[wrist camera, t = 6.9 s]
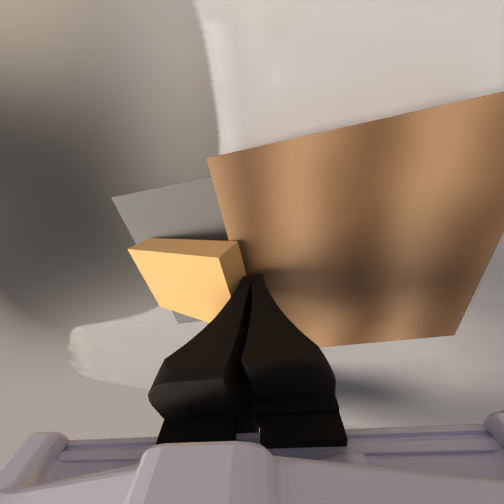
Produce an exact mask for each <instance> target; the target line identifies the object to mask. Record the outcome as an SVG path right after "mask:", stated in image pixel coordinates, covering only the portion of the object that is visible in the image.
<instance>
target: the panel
mask: <svg viewBox="0 0 504 504" xmlns="http://www.w3.org/2000/svg"><path fill="white" fill-rule="evenodd" d="M207 162H208V166H209V170H210V173H211V177H212V181H213V184H214V188H215V192H216V195H217V199H218V203H219V206H220V210H221V214H222V217H223V221H224V225H225V228H226V232H227V236H228V239H229V241H238V244H239V248H240V252H241V256H242V260H243V264H244V268H245V272H246V276H249V275H256V274H263V275H264V280H265V284H266V286H267V288H268V290H269V292H270V294H271V296H272V297H273V299H274V301H275V302H276V304H277V305H278V306H279V308H280V309H281V310H282V312H283V313H284V314H285V315H286V316H287V318H288V319H289V320H290V321H291V322H292V323H293V324H294V325H295V326H296V327H297V328H298V329H299V330H300V331H301V332H302V333H303V334H304V335H306V336H307V337H308V338H309V339H310V340H312V341H313V342H314V343H315V344H317V345H318V347H329V346H340V345H351V344H362V343H373V342H384V341H395V340H406V339H417V338H428V337H439V336H450V335H455V333H456V331H457V329H458V327H459V324H460V322H461V320H462V318H463V316H464V314H465V312H466V310H467V308H468V305H469V303H470V301H471V299H472V297H473V295H474V293H475V291H476V288H477V286H478V284H479V282H480V280H481V278H482V276H483V274H484V272H485V269H486V267H487V265H488V263H489V261H490V259H491V257H492V255H493V253H494V250H495V248H496V246H497V244H498V242H499V240H500V238H501V236H502V234H503V231H504V92H500V93H496V94H491V95H487V96H482V97H478V98H474V99H469V100H465V101H460V102H456V103H451V104H447V105H442V106H438V107H433V108H429V109H424V110H420V111H416V112H411V113H407V114H402V115H398V116H393V117H389V118H384V119H380V120H375V121H371V122H366V123H362V124H357V125H353V126H349V127H344V128H340V129H335V130H331V131H326V132H322V133H317V134H313V135H308V136H304V137H299V138H295V139H291V140H286V141H282V142H277V143H273V144H268V145H264V146H259V147H255V148H250V149H246V150H241V151H237V152H232V153H228V154H224V155H219V156H215V157H210V158H207Z"/></svg>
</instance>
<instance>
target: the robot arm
mask: <svg viewBox="0 0 504 504" xmlns="http://www.w3.org/2000/svg"><path fill="white" fill-rule="evenodd" d="M335 386H336V381H335V376H334V373H333V371H332V369H331V367H330V365H329V363H328V361H327V359H326V358H325V356H324V354H323V353H322V351H321V350H320V348H319V347H318V345H317V344H315V343H314V342H313V341H312V340H310V339H309V338H308V337H307V336H306V335H304V334H303V333H302V332H301V331H300V330H299V329H298V328H297V327H296V326H295V325H294V324H293V323H292V322H291V321H290V320H289V319H288V318H287V316H286V315H285V314H284V313H283V312H282V310H281V309H280V308H279V306H278V305H277V304H276V302H275V301H274V299H273V297H272V296H271V294H270V292H269V290H268V288H267V286H266V284H265V280H264V275H263V274H256V275H249V276H243V278H242V279H241V281H240V283H239V285H238V286H237V288H236V290H235V291H234V293H233V294H232V296H231V297H230V299H229V300H228V302H227V303H226V304H225V306H224V307H223V308H222V310H221V311H220V312H219V313H218V315H217V316H216V317H215V318H214V319H213V320H212V321H211V322H210V323H209V324H208V325H207V326H206V327H205V328H204V329H203V330H202V331H201V332H200V333H198V334H197V335H196V336H195V337H194V338H193V339H191V340H190V341H189V342H188V343H186V344H185V345H184V346H183V347H181V348H180V349H178V350H177V351H176V352H174V353H173V354H171V355H170V356H169V357H167V358H166V359H165V360H164V362H163V364H162V366H161V367H160V369H159V372H158V374H157V376H156V378H155V380H154V383H153V385H152V387H151V389H150V391H149V394H148V397H149V401H150V403H151V404H152V406H153V407H154V408H155V409H156V410H157V412H158V413H159V414H160V415H161V416H162V417H163V418H164V422H163V425H162V428H161V431H160V433H159V436H158V437H137V438H136V437H134V438H108V439H83V440H69V438H68V437H67V436H65V435H64V434H62V433H58V432H34V433H32V434H30V435H29V436H28V438H27V439H26V440H25V441H24V443H23V444H22V445H21V446H20V447H19V449H18V450H17V451H16V452H15V453H14V455H13V456H12V457H11V458H10V460H9V461H8V462H7V463H6V464H5V465H4V467H3V468H2V469H1V470H0V504H504V411H501V412H496V413H493V414H490V415H489V416H488V417H487V418H486V419H485V421H484V424H469V425H444V426H418V427H392V428H366V429H344V426H343V423H342V420H341V416H340V413H339V406H338V403H337V400H336V397H335Z"/></svg>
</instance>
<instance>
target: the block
mask: <svg viewBox="0 0 504 504" xmlns="http://www.w3.org/2000/svg"><path fill="white" fill-rule="evenodd" d="M128 251H129V252H130V254H131V256H132V258H133V260H134V261H135V263H136V265H137V267H138V268H139V270H140V272H141V274H142V276H143V277H144V279H145V281H146V283H147V284H148V286H149V288H150V290H151V291H152V293H153V295H154V297H155V298H156V300H157V302H158V304H159V305H160V307H163V308H166V309H169V310H172V311H175V312H178V313H181V314H184V315H187V316H190V317H193V318H196V319H199V320H202V321H205V322H208V323H210V322H211V321H212V320H213V319H214V318H215V317H216V316H217V315H218V313H219V312H220V311H221V310H222V308H223V307H224V306H225V304H226V303H227V302H228V300H229V299H230V297H231V296H232V294H233V293H234V291H235V290H236V288H237V286H238V285H239V283H240V281H241V279H242V278H243V276H246V272H245V268H244V264H243V260H242V256H241V252H240V248H239V244H238V241H217V240H190V239H163V238H149V239H147V240H145V241H143V242H141V243H139V244H137V245H135V246H133V247H131V248H128Z"/></svg>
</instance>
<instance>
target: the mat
mask: <svg viewBox="0 0 504 504" xmlns="http://www.w3.org/2000/svg"><path fill="white" fill-rule="evenodd" d="M112 200H113V202H114V204H115V205H116V207H117V209H118V211H119V213H120V215H121V217H122V219H123V220H124V222H125V224H126V226H127V228H128V230H129V232H130V233H131V235H132V237H133V239H134V241H135V243H136V245H137V244H139V243H141V242H143V241H145V240H147V239H149V238H163V239H190V240H217V241H229V239H228V236H227V232H226V228H225V225H224V221H223V217H222V214H221V210H220V206H219V203H218V199H217V195H216V192H215V188H214V184H213V181H212V177H206V178H202V179H196V180H192V181H187V182H183V183H178V184H173V185H169V186H164V187H159V188H154V189H149V190H144V191H140V192H135V193H130V194H125V195H121V196H116V197H112ZM172 312H173V314H174V316H175V318H176V320H177V321H178V323H179V324H180V323H189V322H197V321H202V320H199V319H196V318H193V317H190V316H187V315H184V314H181V313H178V312H175V311H172Z"/></svg>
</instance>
